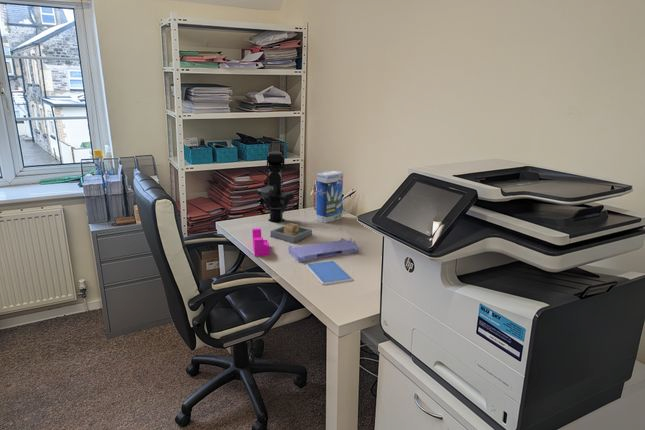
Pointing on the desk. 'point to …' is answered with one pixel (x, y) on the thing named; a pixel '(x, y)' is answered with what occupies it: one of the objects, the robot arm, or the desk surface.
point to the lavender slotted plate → (323, 250)
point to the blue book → (328, 272)
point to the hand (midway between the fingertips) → (275, 210)
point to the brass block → (291, 229)
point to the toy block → (260, 244)
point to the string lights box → (329, 196)
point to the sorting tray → (280, 235)
